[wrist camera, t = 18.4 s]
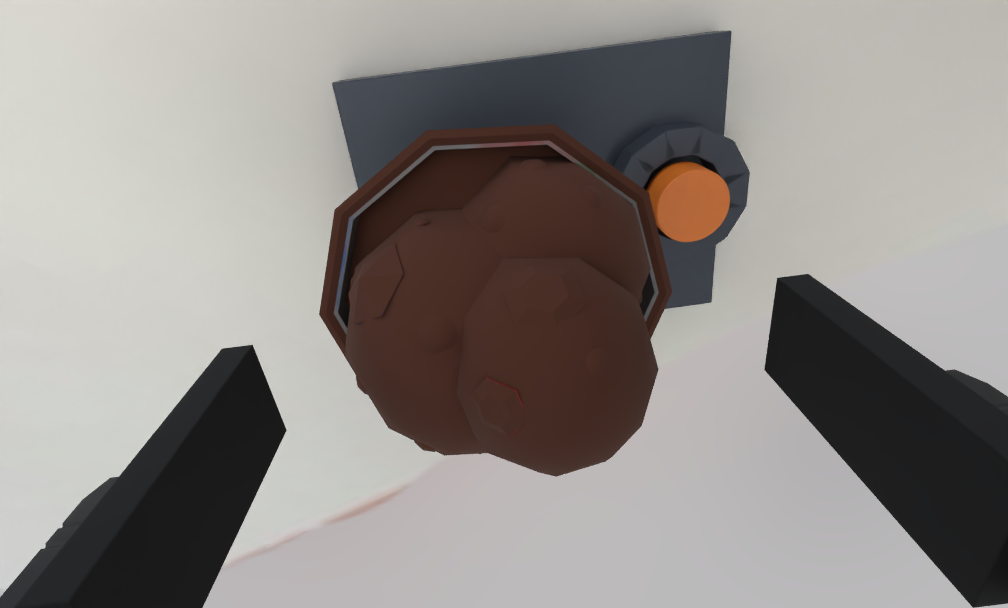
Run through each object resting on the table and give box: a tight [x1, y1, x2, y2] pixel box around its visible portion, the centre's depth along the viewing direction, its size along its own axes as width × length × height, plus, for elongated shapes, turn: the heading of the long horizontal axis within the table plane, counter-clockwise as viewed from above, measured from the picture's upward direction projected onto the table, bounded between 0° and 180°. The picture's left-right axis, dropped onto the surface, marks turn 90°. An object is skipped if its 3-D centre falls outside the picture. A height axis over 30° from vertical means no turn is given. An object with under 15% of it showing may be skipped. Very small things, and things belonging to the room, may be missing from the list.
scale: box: [332, 31, 749, 309], centre depth 25 cm, size 18×13×3 cm
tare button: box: [647, 161, 730, 242], centre depth 23 cm, size 3×3×2 cm
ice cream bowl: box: [319, 124, 672, 476], centre depth 18 cm, size 11×11×15 cm
